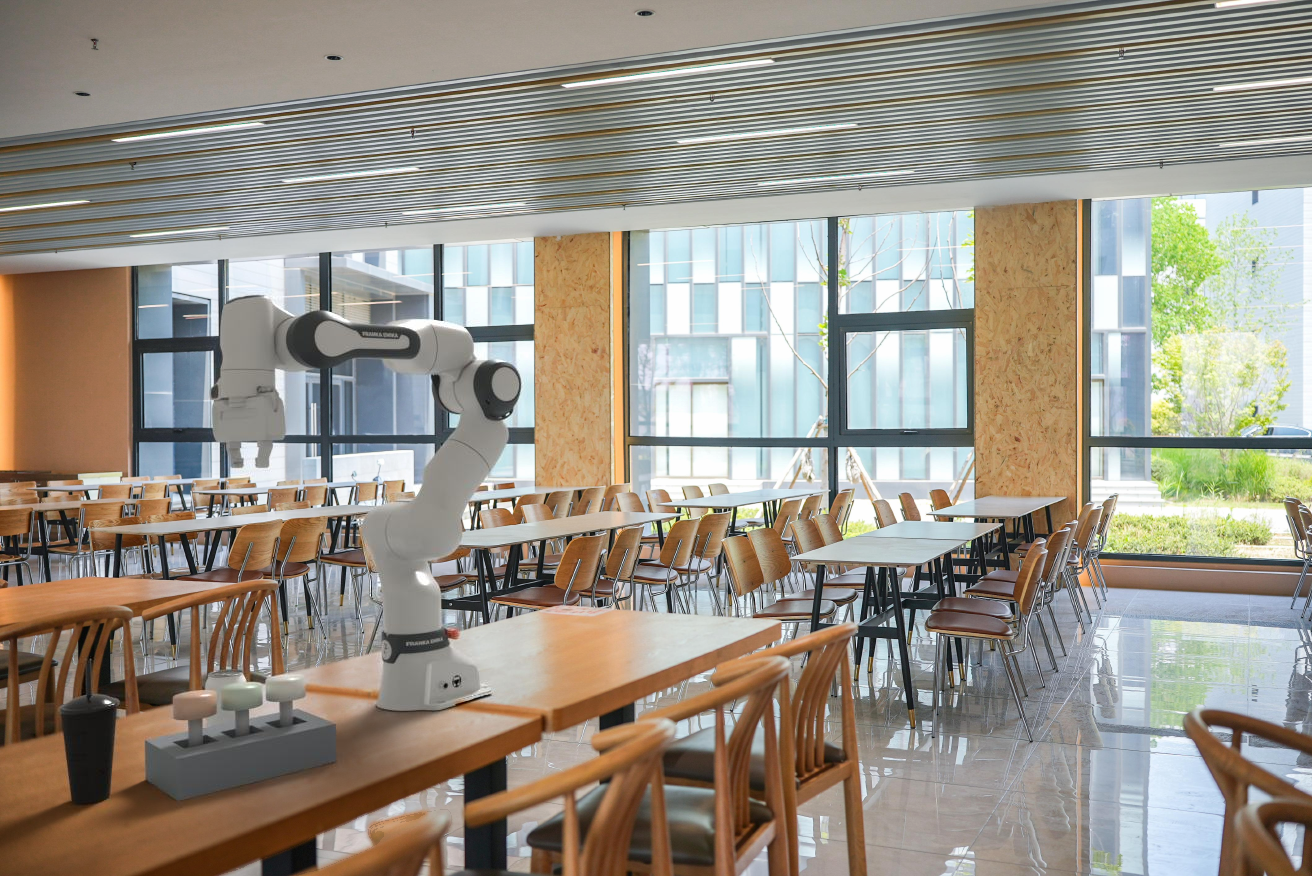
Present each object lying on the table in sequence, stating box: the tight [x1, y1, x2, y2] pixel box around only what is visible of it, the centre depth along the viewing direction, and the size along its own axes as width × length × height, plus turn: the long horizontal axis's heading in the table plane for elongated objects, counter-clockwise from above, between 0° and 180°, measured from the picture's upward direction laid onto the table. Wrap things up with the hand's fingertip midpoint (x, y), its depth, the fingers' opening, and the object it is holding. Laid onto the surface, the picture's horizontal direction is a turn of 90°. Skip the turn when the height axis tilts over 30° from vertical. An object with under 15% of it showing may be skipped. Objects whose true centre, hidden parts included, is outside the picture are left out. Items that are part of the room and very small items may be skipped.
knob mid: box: [221, 681, 264, 737], centre depth 156 cm, size 6×6×8 cm
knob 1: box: [172, 689, 217, 748], centre depth 151 cm, size 6×6×8 cm
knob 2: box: [264, 673, 307, 728], centre depth 161 cm, size 6×6×8 cm
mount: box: [144, 708, 338, 802], centre depth 156 cm, size 24×14×6 cm, turn 134°
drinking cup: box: [58, 658, 120, 806], centre depth 144 cm, size 8×8×20 cm
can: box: [204, 668, 247, 727], centre depth 171 cm, size 6×6×12 cm
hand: (249, 468), depth 174 cm, fingers open, 8 cm apart
